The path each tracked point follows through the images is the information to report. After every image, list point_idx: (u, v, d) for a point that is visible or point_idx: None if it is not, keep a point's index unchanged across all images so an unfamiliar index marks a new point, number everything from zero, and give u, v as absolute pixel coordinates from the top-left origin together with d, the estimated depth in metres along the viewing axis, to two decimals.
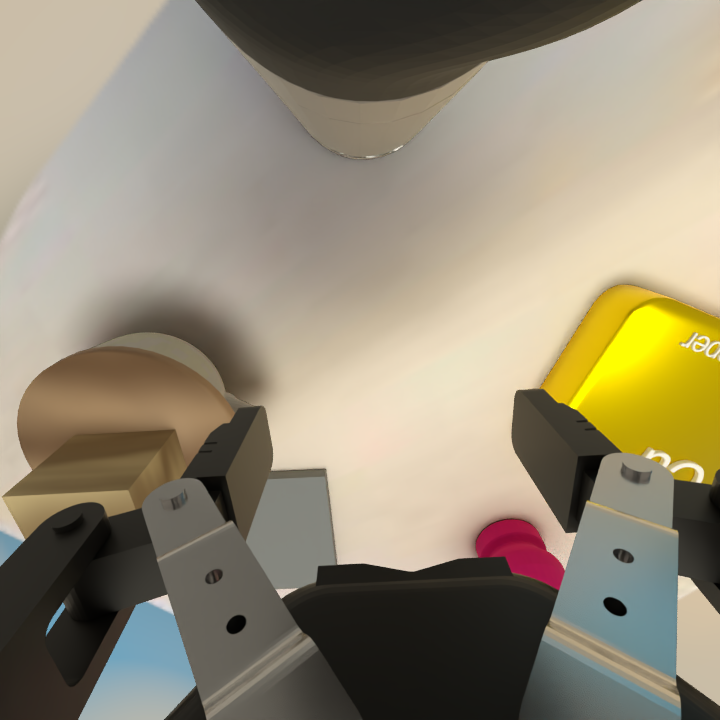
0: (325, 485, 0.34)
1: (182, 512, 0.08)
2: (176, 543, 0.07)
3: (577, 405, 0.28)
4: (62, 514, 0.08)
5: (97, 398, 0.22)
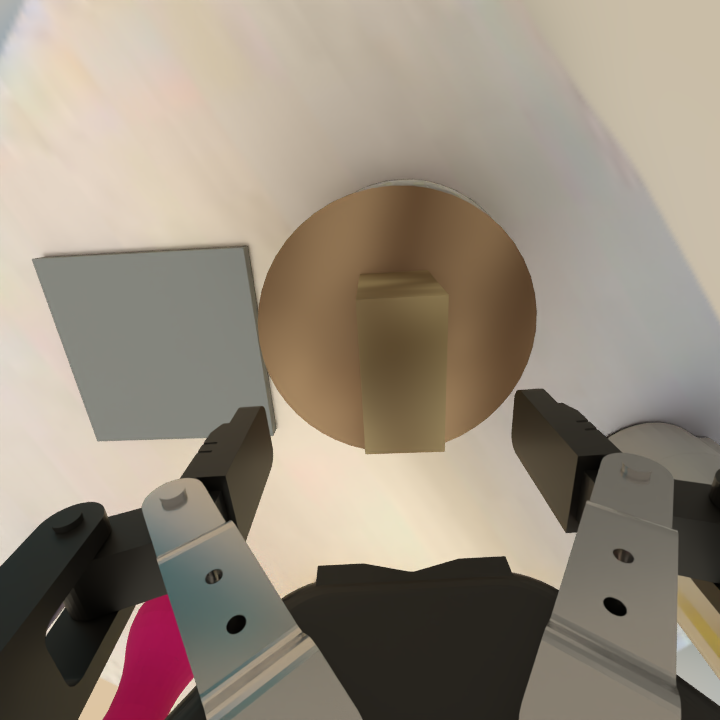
0: None
1: (182, 512, 0.08)
2: (176, 543, 0.07)
3: None
4: (62, 514, 0.08)
5: (477, 315, 0.18)
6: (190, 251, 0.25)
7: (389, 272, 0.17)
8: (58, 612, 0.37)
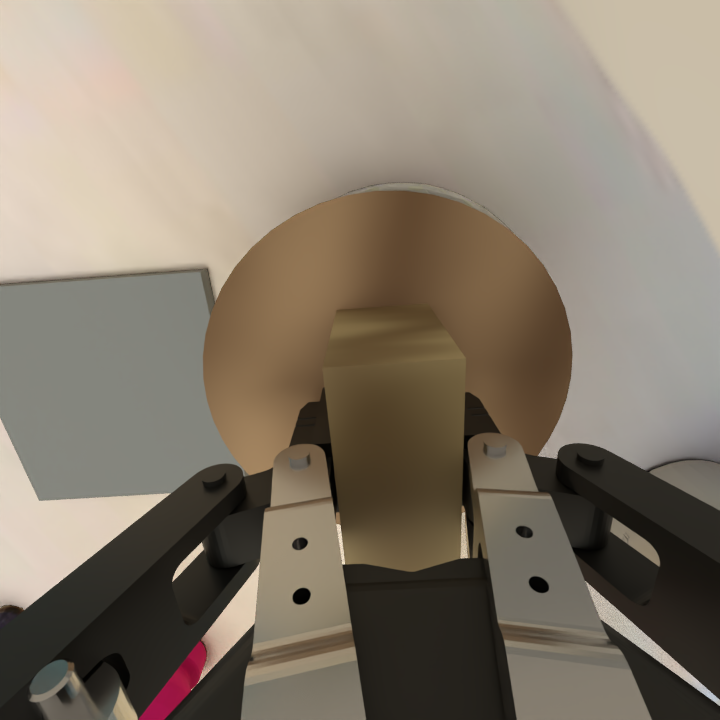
0: None
1: (301, 475, 0.08)
2: (321, 494, 0.08)
3: None
4: (211, 470, 0.09)
5: (494, 360, 0.13)
6: (135, 277, 0.20)
7: (376, 307, 0.13)
8: None
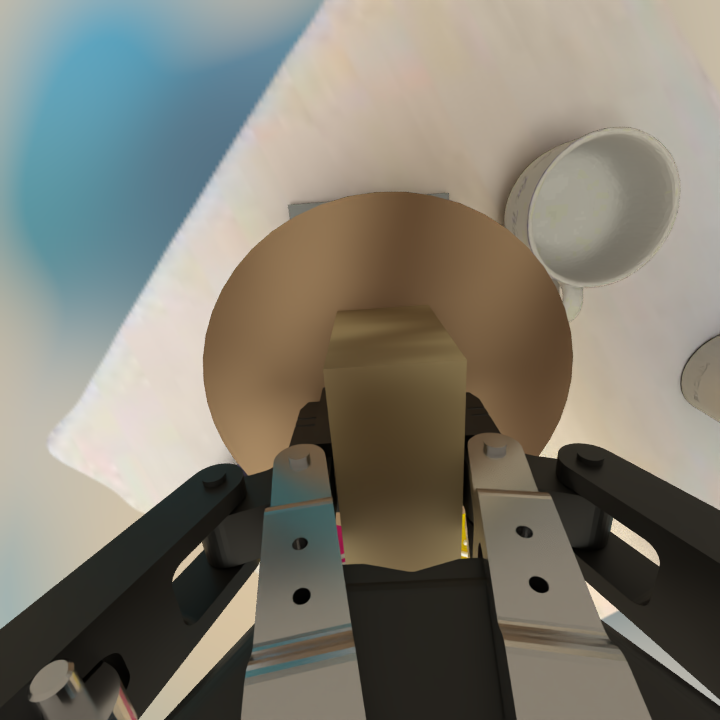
0: None
1: (301, 475, 0.08)
2: (321, 494, 0.08)
3: None
4: (212, 470, 0.09)
5: (495, 361, 0.13)
6: None
7: (376, 308, 0.13)
8: None
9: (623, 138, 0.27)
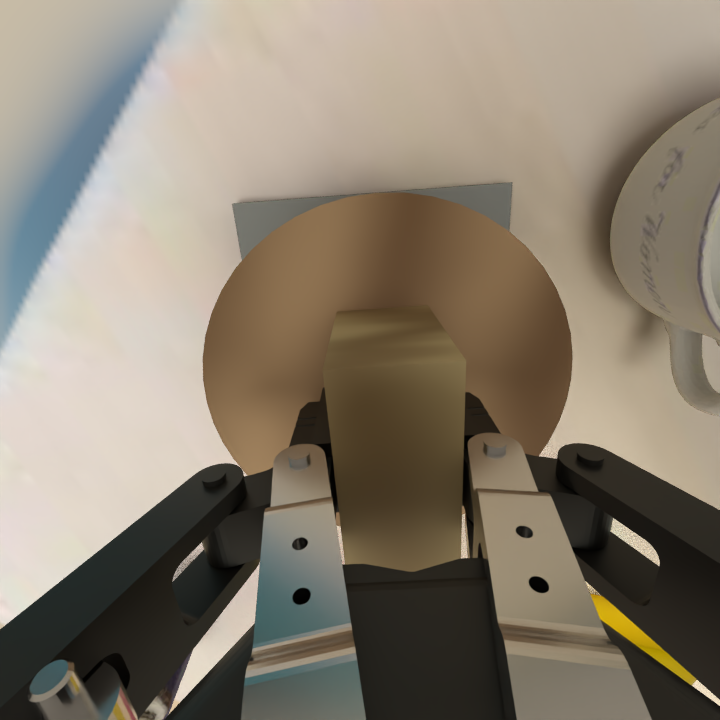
0: None
1: (300, 475, 0.08)
2: (321, 494, 0.08)
3: None
4: (211, 470, 0.09)
5: (495, 361, 0.13)
6: (442, 188, 0.19)
7: (376, 309, 0.13)
8: None
9: None
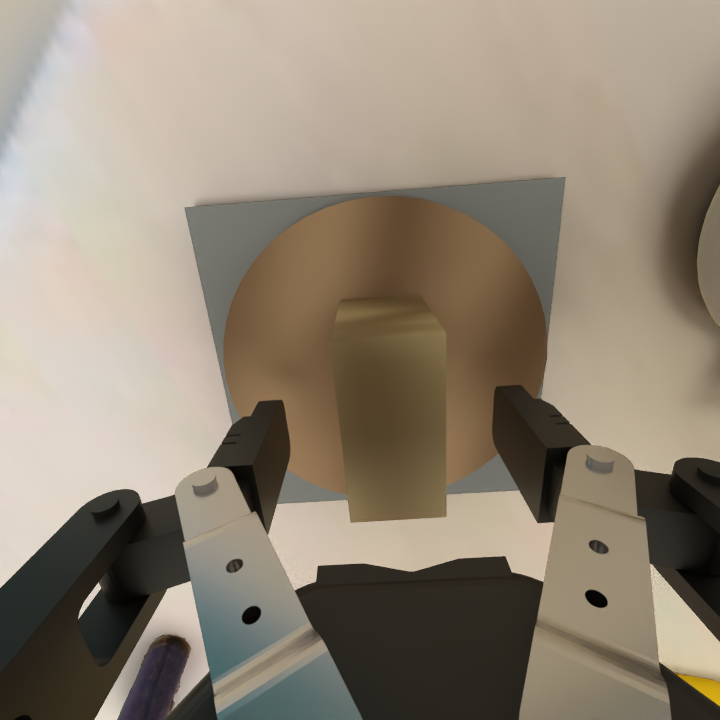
0: (509, 488, 0.19)
1: (211, 500, 0.08)
2: (212, 526, 0.07)
3: None
4: (100, 500, 0.08)
5: (479, 343, 0.15)
6: (469, 186, 0.14)
7: (374, 297, 0.14)
8: None
9: None
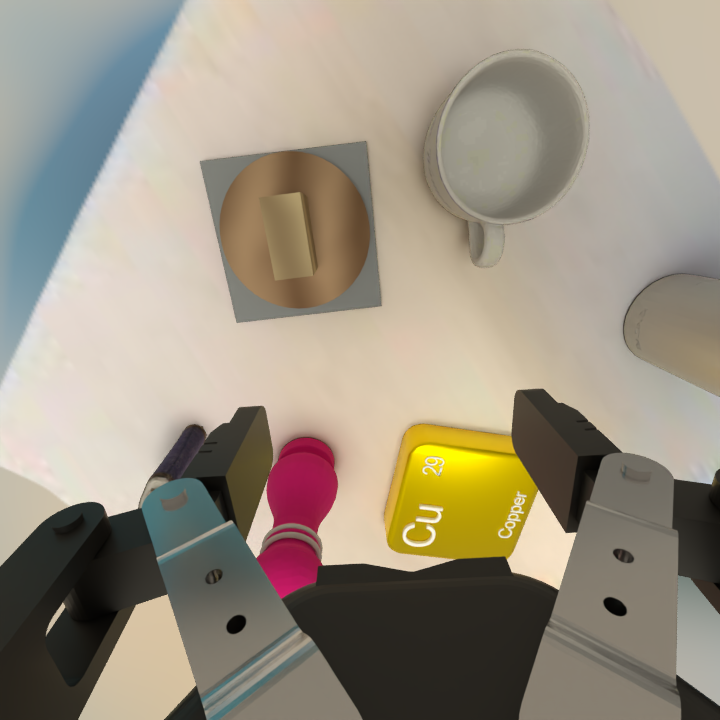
0: (370, 306, 0.37)
1: (182, 512, 0.08)
2: (176, 543, 0.07)
3: (469, 453, 0.40)
4: (62, 514, 0.08)
5: (337, 219, 0.33)
6: (325, 146, 0.32)
7: None
8: None
9: (526, 63, 0.26)
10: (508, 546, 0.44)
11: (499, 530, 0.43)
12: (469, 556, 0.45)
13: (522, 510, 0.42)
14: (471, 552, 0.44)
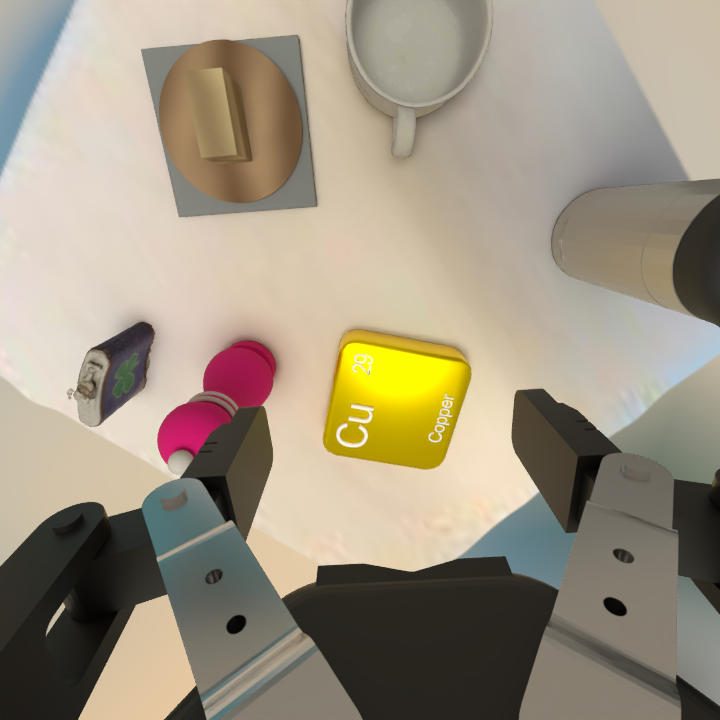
0: (305, 206, 0.39)
1: (182, 512, 0.08)
2: (176, 543, 0.07)
3: (396, 352, 0.42)
4: (62, 514, 0.08)
5: (269, 112, 0.35)
6: (258, 39, 0.34)
7: None
8: (137, 389, 0.46)
9: None
10: (439, 451, 0.46)
11: (429, 434, 0.45)
12: (402, 460, 0.47)
13: (451, 414, 0.44)
14: (403, 456, 0.47)
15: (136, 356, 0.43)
